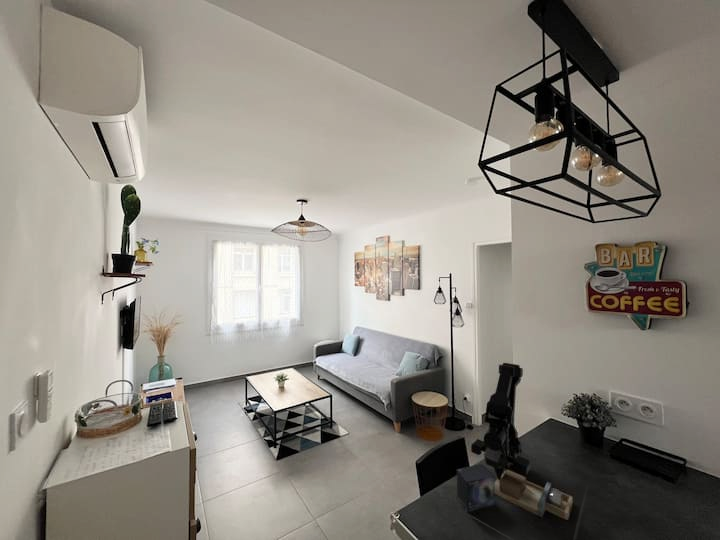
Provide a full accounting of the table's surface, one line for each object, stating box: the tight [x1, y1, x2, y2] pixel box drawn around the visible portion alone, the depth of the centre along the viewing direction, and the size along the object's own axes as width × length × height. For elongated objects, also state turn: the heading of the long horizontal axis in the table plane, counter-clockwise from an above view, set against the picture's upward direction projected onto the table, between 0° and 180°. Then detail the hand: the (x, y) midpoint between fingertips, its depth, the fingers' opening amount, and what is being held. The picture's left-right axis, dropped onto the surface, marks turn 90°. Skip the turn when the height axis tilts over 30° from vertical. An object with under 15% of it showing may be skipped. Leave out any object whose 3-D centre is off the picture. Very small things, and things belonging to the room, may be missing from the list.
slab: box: [499, 469, 527, 500], centre depth 102 cm, size 8×6×4 cm
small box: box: [456, 463, 496, 514], centre depth 97 cm, size 11×6×10 cm, turn 105°
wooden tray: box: [495, 470, 574, 521], centre depth 98 cm, size 13×22×4 cm, turn 46°
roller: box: [547, 487, 563, 508], centre depth 95 cm, size 4×5×4 cm
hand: (499, 479), depth 105 cm, fingers closed
